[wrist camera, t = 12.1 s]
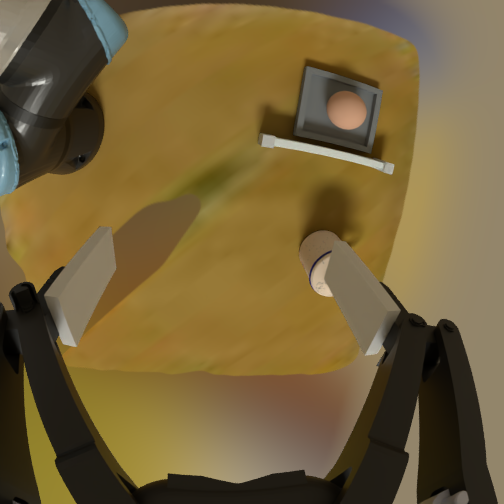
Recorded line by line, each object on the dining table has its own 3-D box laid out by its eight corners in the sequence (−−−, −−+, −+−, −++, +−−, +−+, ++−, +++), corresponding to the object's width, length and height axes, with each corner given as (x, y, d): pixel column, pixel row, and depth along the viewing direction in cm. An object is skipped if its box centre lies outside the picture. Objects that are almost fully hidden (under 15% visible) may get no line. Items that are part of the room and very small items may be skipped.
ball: (318, 123, 40) (331, 124, 35) (324, 87, 37) (338, 84, 32) (352, 132, 41) (369, 135, 36) (358, 98, 38) (376, 97, 33)
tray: (292, 134, 41) (295, 135, 40) (304, 67, 36) (307, 66, 34) (366, 152, 43) (370, 153, 42) (378, 91, 38) (382, 90, 37)
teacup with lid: (289, 263, 53) (304, 300, 42) (310, 221, 49) (332, 251, 39) (339, 278, 55) (361, 313, 45) (360, 241, 52) (388, 272, 42)
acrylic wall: (257, 143, 42) (261, 146, 38) (259, 132, 41) (263, 134, 37) (379, 168, 45) (391, 174, 41) (381, 159, 44) (394, 164, 40)
